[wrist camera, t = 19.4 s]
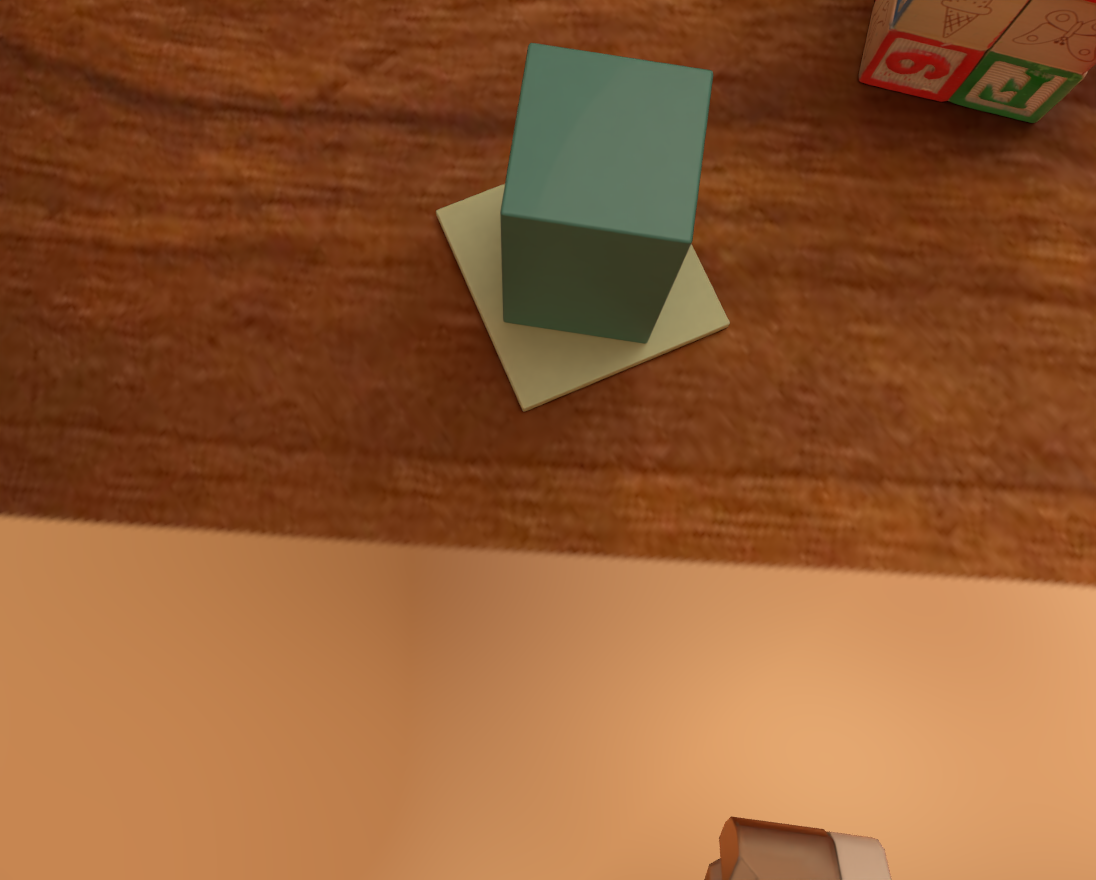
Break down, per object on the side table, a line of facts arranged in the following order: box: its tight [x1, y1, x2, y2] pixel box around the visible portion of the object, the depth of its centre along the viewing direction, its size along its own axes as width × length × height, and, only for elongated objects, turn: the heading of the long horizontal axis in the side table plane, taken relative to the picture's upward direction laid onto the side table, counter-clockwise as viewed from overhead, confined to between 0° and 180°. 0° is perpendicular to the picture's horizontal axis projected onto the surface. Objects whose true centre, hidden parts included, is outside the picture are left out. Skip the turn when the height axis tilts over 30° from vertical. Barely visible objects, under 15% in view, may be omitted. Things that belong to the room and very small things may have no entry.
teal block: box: [500, 43, 713, 344], centre depth 28 cm, size 4×4×8 cm
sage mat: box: [436, 184, 730, 412], centre depth 32 cm, size 7×7×1 cm
